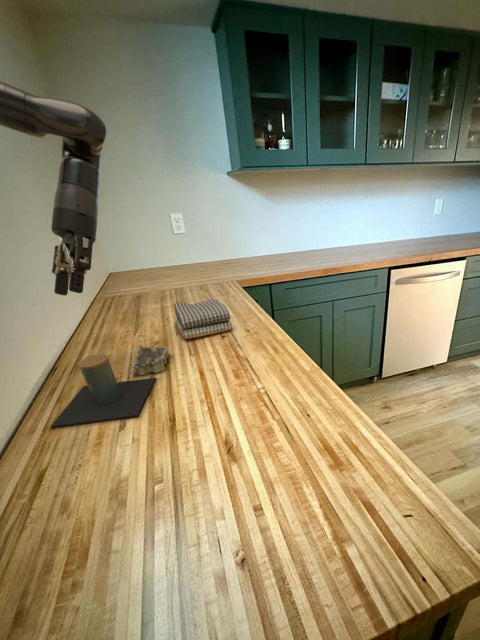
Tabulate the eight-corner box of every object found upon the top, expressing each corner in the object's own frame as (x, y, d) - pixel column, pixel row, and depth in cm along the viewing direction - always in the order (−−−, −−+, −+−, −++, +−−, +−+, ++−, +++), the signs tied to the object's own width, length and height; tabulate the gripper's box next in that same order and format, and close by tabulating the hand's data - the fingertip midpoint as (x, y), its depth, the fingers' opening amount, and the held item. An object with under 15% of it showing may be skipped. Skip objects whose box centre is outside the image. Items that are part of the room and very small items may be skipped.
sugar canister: (91, 407, 72) (72, 368, 67) (101, 392, 77) (84, 356, 72) (117, 403, 72) (101, 365, 68) (126, 389, 77) (111, 352, 72)
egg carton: (144, 358, 92) (140, 344, 90) (172, 354, 93) (168, 341, 91) (133, 377, 83) (127, 362, 81) (164, 373, 84) (159, 358, 82)
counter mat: (51, 428, 67) (50, 426, 67) (84, 388, 80) (83, 386, 80) (138, 417, 68) (137, 414, 68) (156, 379, 81) (155, 377, 81)
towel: (184, 343, 99) (178, 318, 95) (175, 324, 113) (169, 301, 109) (234, 331, 104) (230, 306, 100) (219, 314, 118) (215, 292, 114)
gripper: (43, 213, 70) (34, 291, 70) (67, 197, 61) (58, 286, 61) (83, 228, 76) (75, 299, 76) (110, 215, 67) (102, 296, 67)
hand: (67, 293), depth 69 cm, fingers open, 8 cm apart
